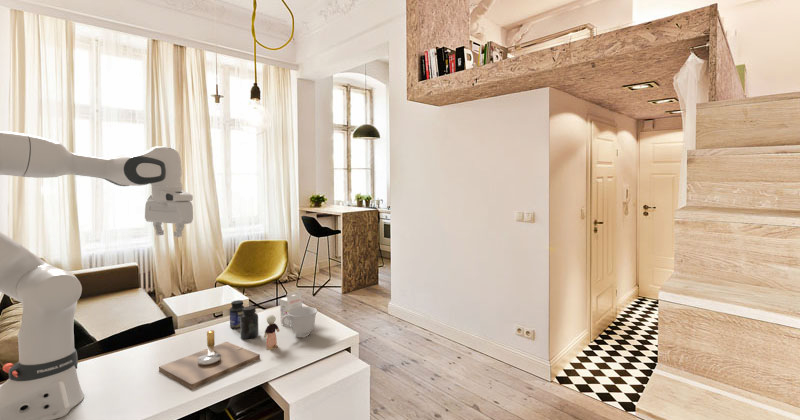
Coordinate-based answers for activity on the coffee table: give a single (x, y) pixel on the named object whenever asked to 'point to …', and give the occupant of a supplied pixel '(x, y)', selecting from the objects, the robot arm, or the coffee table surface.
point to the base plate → (197, 375)
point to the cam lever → (209, 351)
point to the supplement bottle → (249, 323)
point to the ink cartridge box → (290, 304)
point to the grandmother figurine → (271, 332)
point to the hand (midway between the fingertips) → (168, 236)
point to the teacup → (301, 320)
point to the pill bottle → (236, 314)
